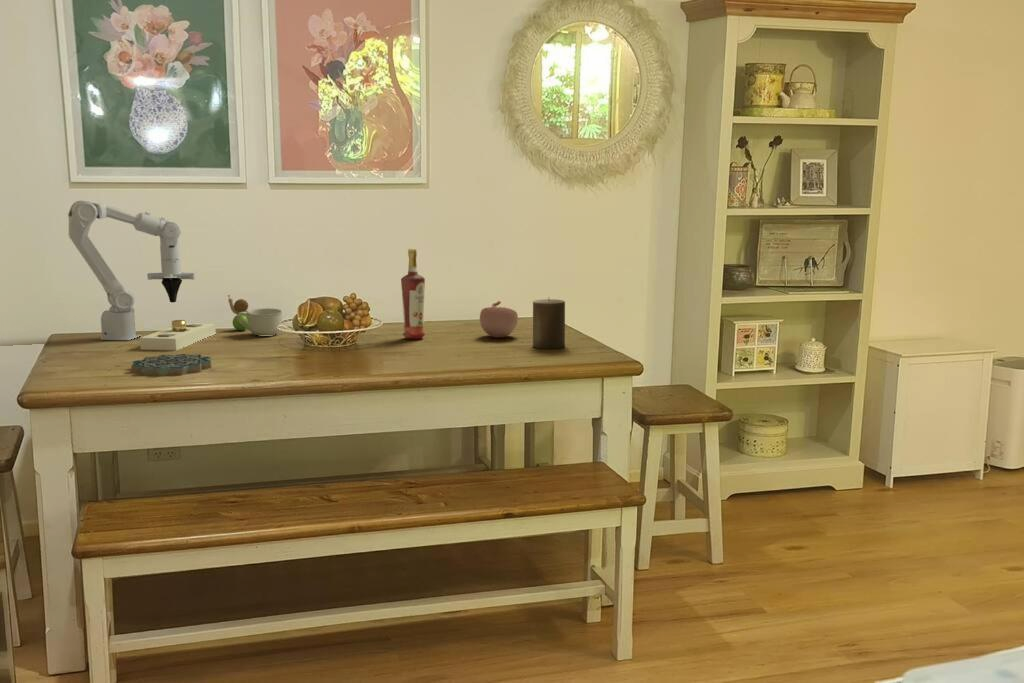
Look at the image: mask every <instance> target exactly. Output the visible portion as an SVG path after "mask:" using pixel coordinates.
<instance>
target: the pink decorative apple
mask: <svg viewBox="0 0 1024 683" xmlns="http://www.w3.org/2000/svg"><path fill="white" fill-rule="evenodd" d="M501 303H502V302H501V300H498V301H497V302H494V303H492V304H491V306H489V307H484V308H482V309H481V310H480V313H479V314H480V315H479V323H480V326H481V328H482V330H483V332H484V333H485V334H487V335H489V336H491V337H493V338H497V339H498V338H499V339H500V338H501V339H502V338H505V337H507V336H510V335H511V334H512V333H513V332H515V330H516V328H517V326H518V320H519V316H518V315H519V314H518V313H517V311H516V310H515V309H512V308H509V307H505V306H499V305H501Z"/></svg>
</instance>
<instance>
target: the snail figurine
mask: <svg viewBox="0 0 1024 683" xmlns="http://www.w3.org/2000/svg"><path fill="white" fill-rule="evenodd" d="M230 296H231V295H230V294H228V295H227V297H228V303H229V306H230V310H231V311H232V313H234V315H235V316H234V317H233V319H232V326H233V328H234V329H235V330H237V331H239V330H243V331H246V330H248V329H247V328H246V327H245V326H243V325H241V324H240V323H239V322H238V319H237V316H238V314H239V313H240V312H246V313H248V311H249V310H248V308H249V303H248V302H247V300H246V299H243V298H240V299H237V300H236V301H235V302H234V299H233V298H231V297H230ZM240 319H241V320H242V321H243V322H244V323H246V324H248V320H247V317H246V316H245V315H241V317H240Z"/></svg>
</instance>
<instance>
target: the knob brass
mask: <svg viewBox="0 0 1024 683" xmlns="http://www.w3.org/2000/svg"><path fill="white" fill-rule="evenodd" d="M186 322H187V321H186V320H185V319H175V320H171V327H172V331H174V332H181V331H186Z"/></svg>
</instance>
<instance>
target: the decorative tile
mask: <svg viewBox="0 0 1024 683" xmlns="http://www.w3.org/2000/svg"><path fill="white" fill-rule="evenodd" d="M207 369H208V370H209V369H212V357H211V356H202V355H201V354H187V353H186V354H185V353H181V354H162V355H161V354H160V355H158V356H148V357H144V358H143V359H139V360H133V361H132V364H131V373H133V374H134V373H135V374H136V373H137V374H140V375H141V376H155V377H156V376H157V377H164V376H184V375H187V374H190V373H201V372H202V370H207Z"/></svg>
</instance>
